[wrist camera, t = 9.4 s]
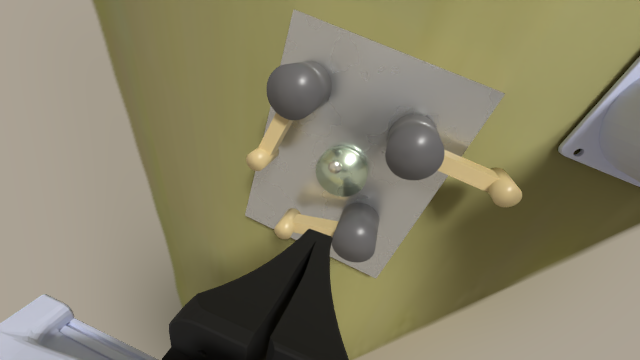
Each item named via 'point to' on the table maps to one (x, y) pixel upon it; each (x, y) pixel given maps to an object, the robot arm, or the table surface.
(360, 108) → the tribrach plate
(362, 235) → the knob
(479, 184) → the knob
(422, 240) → the table surface
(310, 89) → the knob
